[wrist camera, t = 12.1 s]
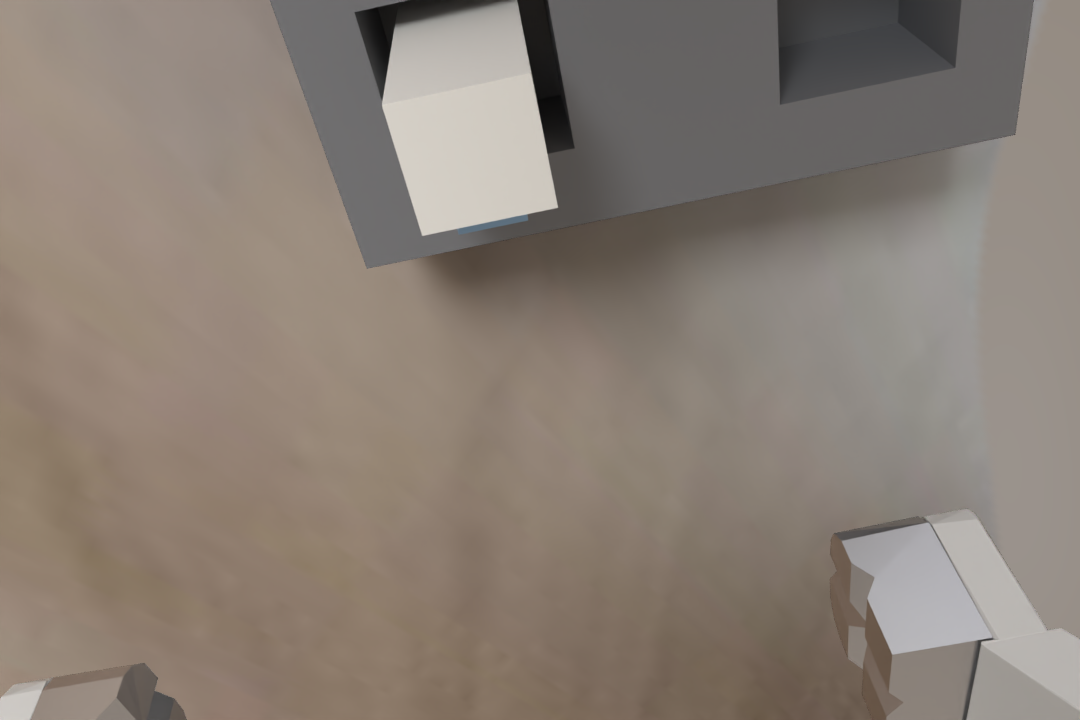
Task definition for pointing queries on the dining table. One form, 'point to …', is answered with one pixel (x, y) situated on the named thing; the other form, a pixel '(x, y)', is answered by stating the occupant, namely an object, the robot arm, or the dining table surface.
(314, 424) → the dining table surface
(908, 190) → the dining table surface
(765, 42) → the socket block
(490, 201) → the plug
